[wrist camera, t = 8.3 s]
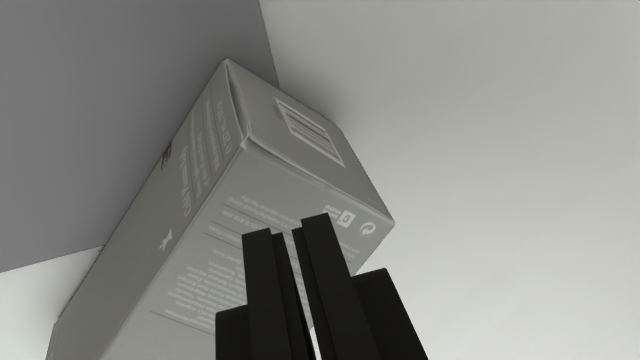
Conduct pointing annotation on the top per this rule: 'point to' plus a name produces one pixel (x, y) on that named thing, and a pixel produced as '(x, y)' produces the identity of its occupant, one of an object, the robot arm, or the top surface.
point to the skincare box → (217, 223)
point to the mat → (101, 107)
